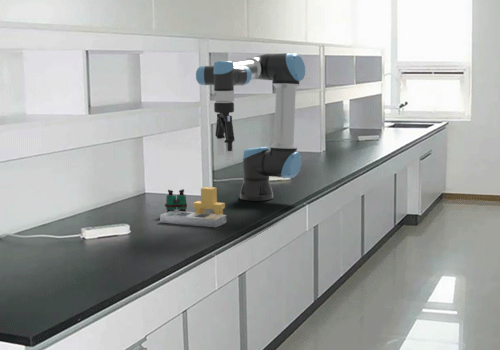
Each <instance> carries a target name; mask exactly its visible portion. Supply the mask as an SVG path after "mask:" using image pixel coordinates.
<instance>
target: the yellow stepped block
mask: <svg viewBox="0 0 500 350" xmlns="http://www.w3.org/2000/svg"><path fill="white" fill-rule="evenodd" d="M217 189H218V188H217V187H214V186H212V187H211V186H204V187H201V188H200V200H197V201H194V202H193V203H192V206H193V209H195V211H194V212H196V213H206V210H213V214H221V215H224V209H225V208H226V203H225V202H218V192H217V191H218V190H217Z"/></svg>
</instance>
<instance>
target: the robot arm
mask: <svg viewBox="0 0 500 350" xmlns="http://www.w3.org/2000/svg"><path fill="white" fill-rule="evenodd" d="M305 76H306V65H305V62H304V60H303V58H302V56H301V55H299V54H298V53H290V52H289V53H288V52H287V53H285V52H284V53H265V54H261V55H256V56H251V57H247V58H246V59H245V60H242V61H237V62H236V61H235V62H233V61H232V60H217V61H214V64H213V65H203V66H199V67H198V68H197V70H196V71H195V80H196V82H197V83H198V84H199V85H201V86H202V85H203V86H214V87H213V91H214V92H213V93H212V96H213V97H214V99H213V101H214V106H213V109H214V110H213V111H214V113H216V114H217V115H216V126H215V134H214V135H215V137H216V155H217V156H225V161H228V160H231V161H233V160H234V142H235V141H236V140H235V134H234V128H233V127H234V126H233V116H232V115H230V113H234V112H235V103H234V101H235V90H234V89H235V88H234V86H245V85H248V84H249V83H250V82H251V81H252V80H262V81H263V80H264V81H272V85H273V86H274V88H275V108H274V111H275V112H274V132H273V133H274V135H273V136H274V137H273V138H274V139H273V143H272V145H270V147H269V146H258V147H250V148H246V149H245V150H244V151H243V155H242V161H243V162H242V165H243V166H242V169H243V182H242V185H241V189H240V192H239V199H240V200H243V201H248V202H249V201H250V202H257V201H258V202H261V201H269V200H272V199H274V192H273V189H272V186H271V183H270V178H271V177H272V178H282V179H287V178H288V179H292V178H295V177H296V176H297V175H298V174H299V172H300V170H301V168H302V167H301V166H302V164H303V163H302V162H303V161H302V155H301V153H300V152H299V151H298V147H297V146H296V145H295V143H294V140H295V119H296V117H295V116H296V115H295V114H296V94H297V93H296V92H297V91H296V90H297V88H298V87H299V86H300V82H301V81H303V80H304V78H305Z"/></svg>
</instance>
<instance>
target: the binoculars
mask: <svg viewBox="0 0 500 350" xmlns="http://www.w3.org/2000/svg"><path fill="white" fill-rule="evenodd" d="M178 192H179V194H177V195H176V194H174V190H171V189H167V193H168V195H167V194H166V201H165V202H166V203H165V204H164V206H165V209H166V212H169V211H171V210H172V211H184V212H187V207H188V204H187V196H186V194H184V193H185V189H184V188H183V189H180V190H178Z"/></svg>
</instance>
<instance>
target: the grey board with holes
mask: <svg viewBox="0 0 500 350" xmlns="http://www.w3.org/2000/svg"><path fill="white" fill-rule="evenodd" d="M159 220H160V221H159V223H161V224H173V225H182V226H183V225H185V226H193V227H194V226H196V227H204V228H205V227H206V228H218V227H220V226H222V225H225V224H226V223H227V214H223V215H221V214H214V213H207V212H205V213H196V212H195V211H194V212H193V211H186V212H184V211H178V210H175V211H172V210H171V211H169V212H167V211H166V212H164V213H161V214H160V215H159Z"/></svg>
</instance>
